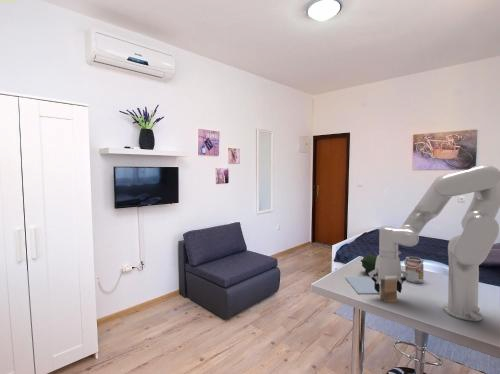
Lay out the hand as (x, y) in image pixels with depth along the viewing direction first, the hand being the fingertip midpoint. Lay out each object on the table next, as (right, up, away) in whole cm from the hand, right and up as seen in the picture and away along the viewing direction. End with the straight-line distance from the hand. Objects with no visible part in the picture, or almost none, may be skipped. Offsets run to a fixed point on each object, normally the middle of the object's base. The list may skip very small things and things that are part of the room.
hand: (387, 291), depth 122 cm
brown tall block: (0, -4, 0) cm, 4 cm away
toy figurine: (+11, -2, +33) cm, 35 cm away
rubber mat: (-4, -3, +16) cm, 17 cm away
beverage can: (+24, -3, +20) cm, 31 cm away
